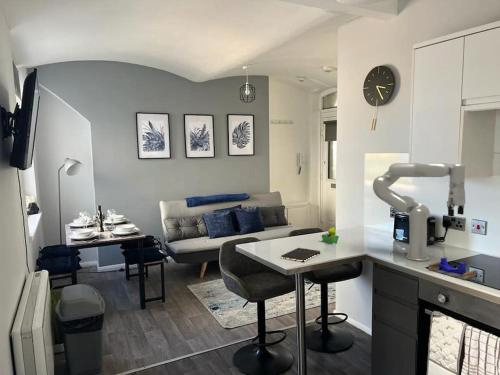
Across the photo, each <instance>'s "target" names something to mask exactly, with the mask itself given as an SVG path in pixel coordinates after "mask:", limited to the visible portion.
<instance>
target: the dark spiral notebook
mask: <svg viewBox="0 0 500 375" xmlns="http://www.w3.org/2000/svg"><path fill="white" fill-rule="evenodd" d="M319 253H320V254H321V251H320V250H316V249H309V248H303V247H297V248H295V249H292V250H290V251H287V252H286V253H284V254H281V255H280V257H283V258H289V259H296V260H303V261H304V260H306V259H308V258H310V257H312V256H314V255H317V254H319ZM320 254H319V255H320ZM317 256H318V255H317Z"/></svg>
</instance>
